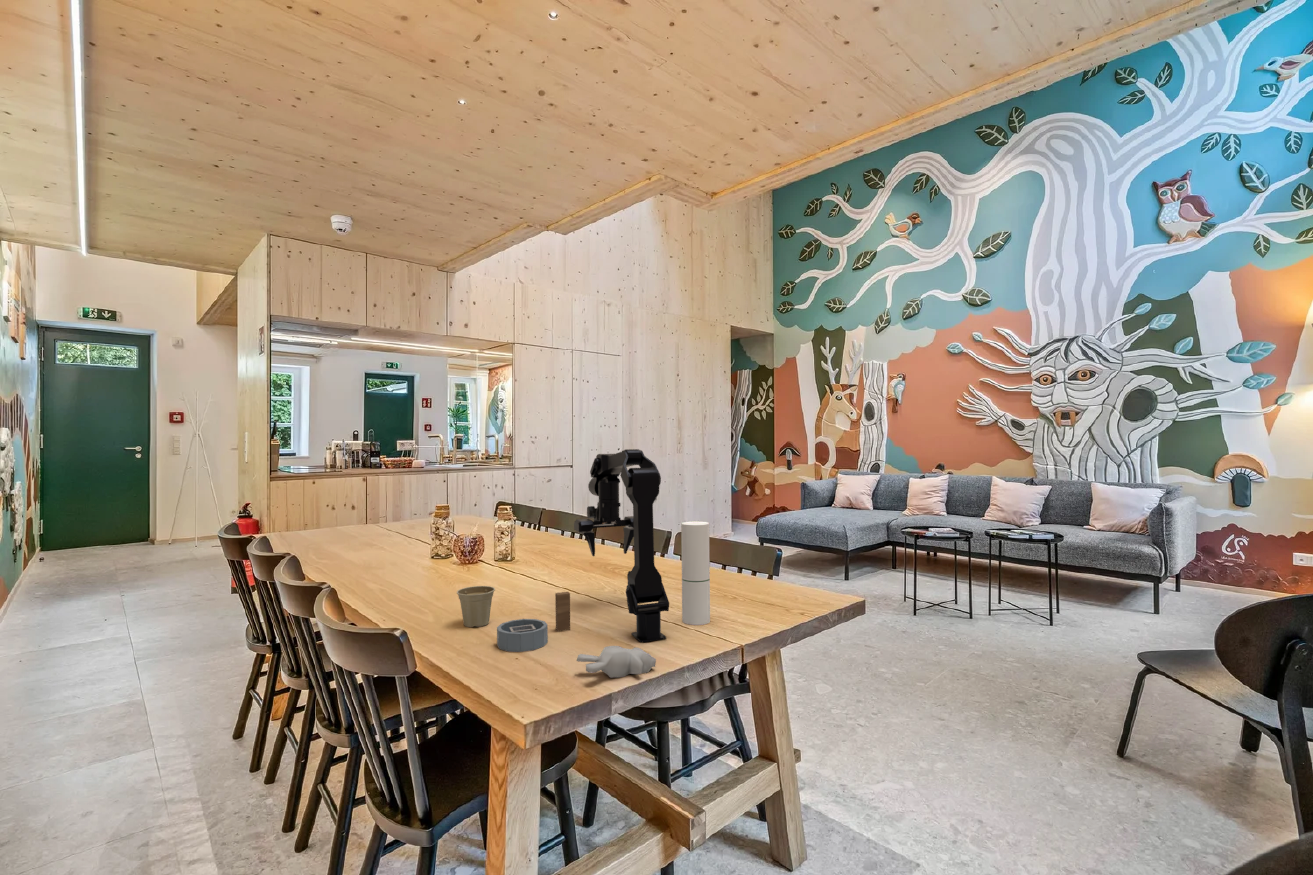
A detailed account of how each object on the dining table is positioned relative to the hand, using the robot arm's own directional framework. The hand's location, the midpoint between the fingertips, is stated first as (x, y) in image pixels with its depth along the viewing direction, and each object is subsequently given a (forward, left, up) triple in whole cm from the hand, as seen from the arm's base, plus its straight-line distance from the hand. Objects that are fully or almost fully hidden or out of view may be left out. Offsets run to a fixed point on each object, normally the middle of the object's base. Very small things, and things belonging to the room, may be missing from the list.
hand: (609, 554), depth 169 cm
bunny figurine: (-46, +14, -15) cm, 51 cm away
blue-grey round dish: (-20, +28, -15) cm, 37 cm away
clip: (-20, +28, -15) cm, 37 cm away
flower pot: (0, +36, -15) cm, 39 cm away
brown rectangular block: (-14, +17, -15) cm, 26 cm away
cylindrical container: (-21, -16, -15) cm, 30 cm away
